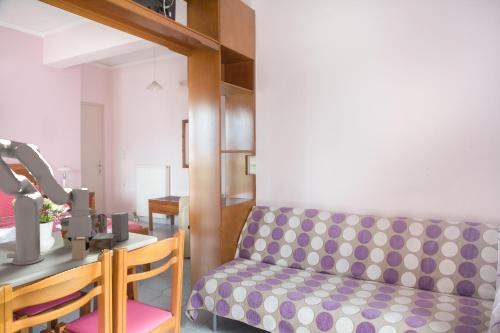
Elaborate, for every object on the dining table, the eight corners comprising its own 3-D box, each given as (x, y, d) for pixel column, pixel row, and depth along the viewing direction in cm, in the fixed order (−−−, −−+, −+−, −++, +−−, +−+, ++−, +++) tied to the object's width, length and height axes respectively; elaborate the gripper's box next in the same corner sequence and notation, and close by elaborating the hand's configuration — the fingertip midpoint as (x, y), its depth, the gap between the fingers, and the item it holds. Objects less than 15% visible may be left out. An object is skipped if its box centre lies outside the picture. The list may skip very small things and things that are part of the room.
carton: (83, 259, 160) (83, 240, 160) (72, 260, 159) (72, 241, 159) (89, 253, 170) (88, 235, 170) (78, 254, 169) (78, 236, 169)
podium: (81, 250, 174) (81, 239, 174) (88, 244, 187) (88, 233, 187) (112, 249, 177) (112, 238, 177) (116, 243, 190) (116, 232, 190)
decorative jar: (76, 241, 194) (76, 210, 193) (90, 236, 205) (90, 207, 205) (94, 242, 191) (94, 211, 190) (107, 237, 202) (107, 208, 202)
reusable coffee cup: (91, 243, 190) (90, 217, 189) (75, 249, 177) (75, 221, 177) (71, 242, 192) (71, 216, 192) (55, 247, 180) (54, 220, 180)
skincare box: (121, 241, 193) (121, 214, 193) (110, 241, 195) (110, 214, 194) (129, 238, 202) (129, 212, 201) (119, 237, 203) (118, 211, 203)
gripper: (58, 215, 158) (59, 253, 159) (97, 214, 162) (97, 251, 162) (64, 212, 166) (64, 248, 166) (100, 211, 169) (101, 247, 170)
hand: (80, 249), depth 164 cm, fingers closed on carton, 5 cm apart
